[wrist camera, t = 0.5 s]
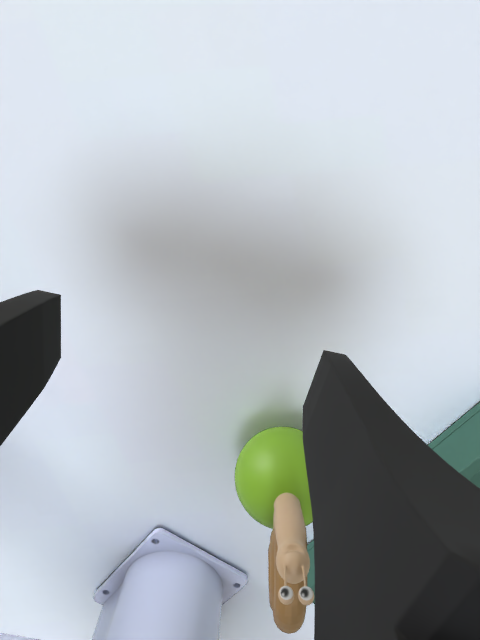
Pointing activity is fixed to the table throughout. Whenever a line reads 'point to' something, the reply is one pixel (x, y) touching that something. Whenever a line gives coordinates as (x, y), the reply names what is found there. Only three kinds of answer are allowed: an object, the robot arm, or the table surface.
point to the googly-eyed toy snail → (280, 516)
